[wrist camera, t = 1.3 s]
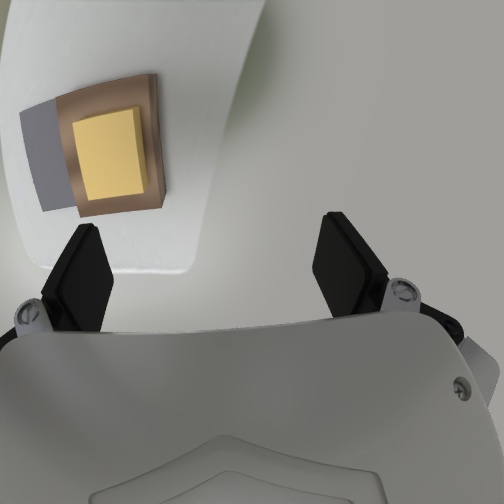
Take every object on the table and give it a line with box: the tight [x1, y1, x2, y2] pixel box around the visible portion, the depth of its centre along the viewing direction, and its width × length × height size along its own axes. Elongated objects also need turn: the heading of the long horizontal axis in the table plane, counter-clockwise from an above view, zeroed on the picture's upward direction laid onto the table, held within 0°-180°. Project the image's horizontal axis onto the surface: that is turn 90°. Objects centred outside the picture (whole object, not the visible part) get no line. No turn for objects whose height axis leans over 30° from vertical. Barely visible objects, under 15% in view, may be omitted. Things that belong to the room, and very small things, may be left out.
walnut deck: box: [55, 74, 166, 218], centre depth 24 cm, size 14×10×4 cm
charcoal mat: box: [20, 99, 77, 212], centre depth 24 cm, size 14×8×1 cm, turn 179°
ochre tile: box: [72, 106, 148, 201], centre depth 22 cm, size 8×6×2 cm
